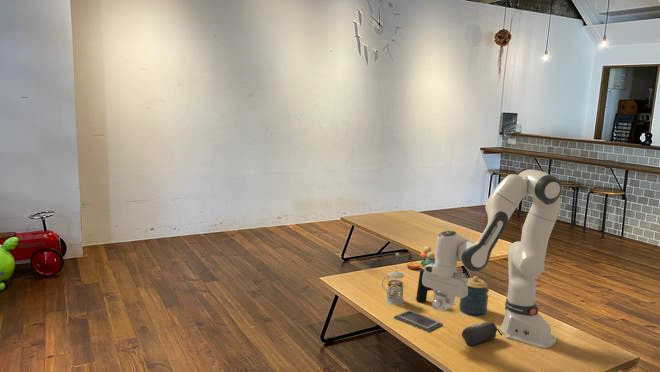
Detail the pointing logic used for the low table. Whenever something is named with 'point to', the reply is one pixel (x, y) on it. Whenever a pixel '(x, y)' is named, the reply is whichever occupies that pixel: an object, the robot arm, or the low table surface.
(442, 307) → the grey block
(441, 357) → the low table surface
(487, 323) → the glasses case
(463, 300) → the canister
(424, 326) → the plate
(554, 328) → the low table surface
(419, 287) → the pipe connector
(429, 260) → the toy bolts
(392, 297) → the french press
